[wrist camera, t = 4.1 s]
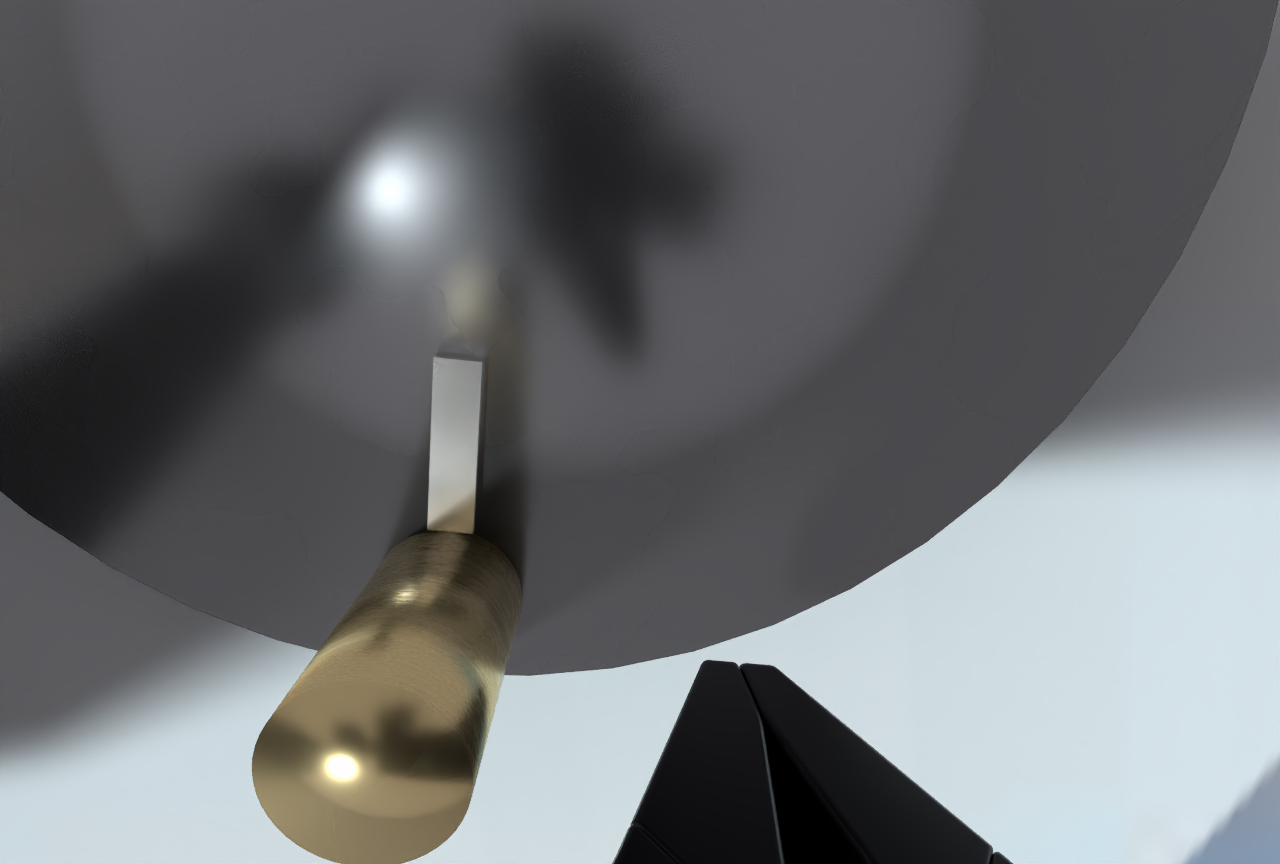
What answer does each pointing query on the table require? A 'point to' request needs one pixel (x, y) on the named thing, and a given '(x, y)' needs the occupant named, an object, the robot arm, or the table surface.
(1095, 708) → the table surface
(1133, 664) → the table surface
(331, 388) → the turntable
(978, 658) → the table surface
